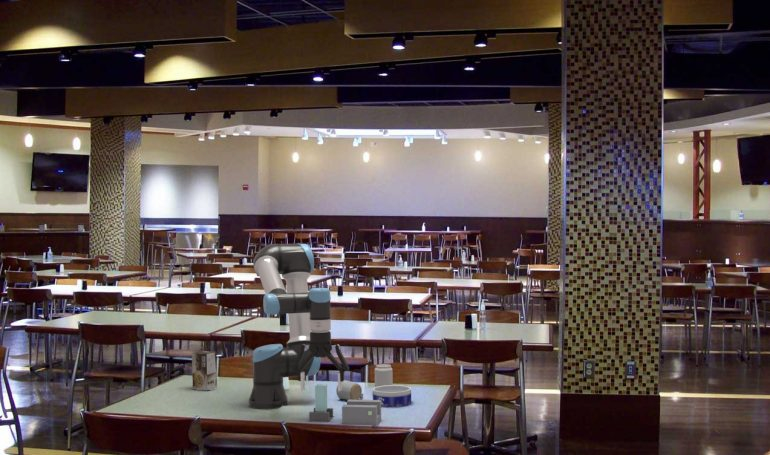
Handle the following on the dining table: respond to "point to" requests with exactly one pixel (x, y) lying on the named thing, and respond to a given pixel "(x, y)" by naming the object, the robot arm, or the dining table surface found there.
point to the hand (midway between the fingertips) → (321, 390)
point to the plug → (321, 397)
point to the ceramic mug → (349, 391)
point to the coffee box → (204, 370)
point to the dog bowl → (392, 395)
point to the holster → (321, 416)
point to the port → (362, 412)
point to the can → (383, 375)
